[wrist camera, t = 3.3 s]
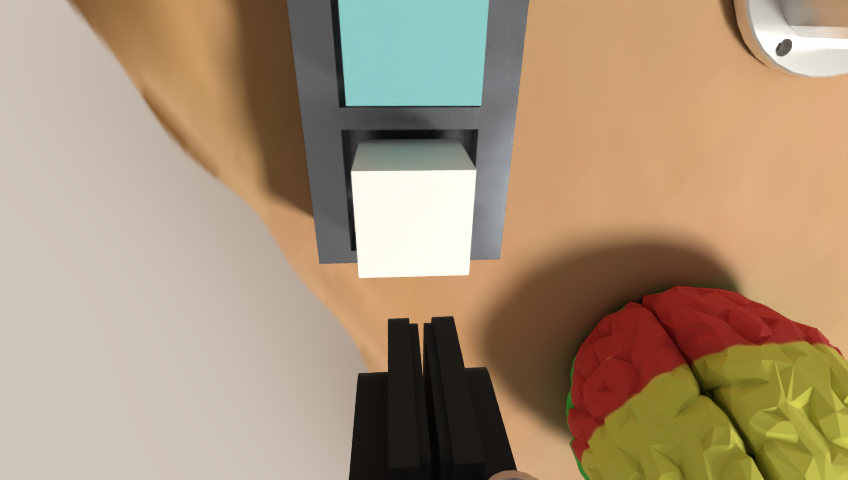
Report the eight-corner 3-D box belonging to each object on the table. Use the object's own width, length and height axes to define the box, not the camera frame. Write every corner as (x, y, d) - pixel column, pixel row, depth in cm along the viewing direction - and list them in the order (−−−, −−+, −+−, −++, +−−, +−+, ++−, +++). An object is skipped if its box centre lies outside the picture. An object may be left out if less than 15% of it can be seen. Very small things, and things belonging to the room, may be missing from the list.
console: (529, -295, 16) (573, -398, 12) (483, 223, 27) (499, 259, 23) (273, -311, 16) (233, -426, 12) (330, 226, 27) (319, 263, 23)
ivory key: (458, 138, 21) (476, 169, 17) (454, 227, 23) (468, 274, 19) (359, 139, 21) (350, 171, 16) (365, 228, 23) (358, 278, 19)
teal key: (467, -38, 17) (493, -58, 13) (461, 87, 20) (481, 105, 15) (348, -41, 17) (333, -62, 13) (356, 87, 19) (346, 106, 15)
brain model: (791, 425, 39) (996, 625, 26) (599, 493, 42) (692, 704, 29) (753, 224, 30) (1044, 372, 16) (511, 330, 33) (586, 529, 19)
